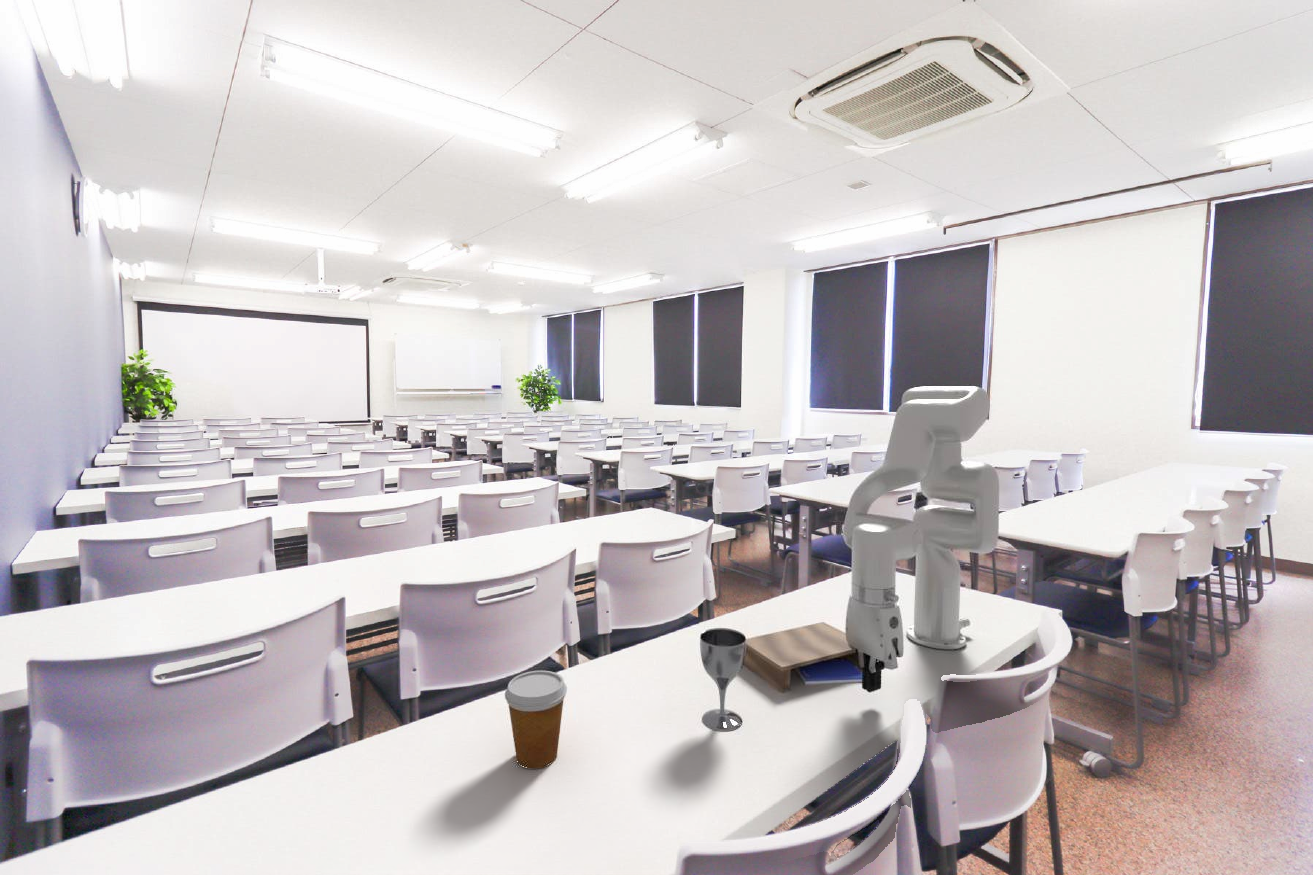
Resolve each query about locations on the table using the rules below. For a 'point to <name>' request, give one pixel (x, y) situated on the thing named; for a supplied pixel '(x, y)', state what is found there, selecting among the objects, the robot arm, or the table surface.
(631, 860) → the table surface
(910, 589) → the table surface
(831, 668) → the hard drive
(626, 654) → the table surface
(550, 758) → the disposable coffee cup
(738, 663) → the wine glass
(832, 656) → the wooden shelf
